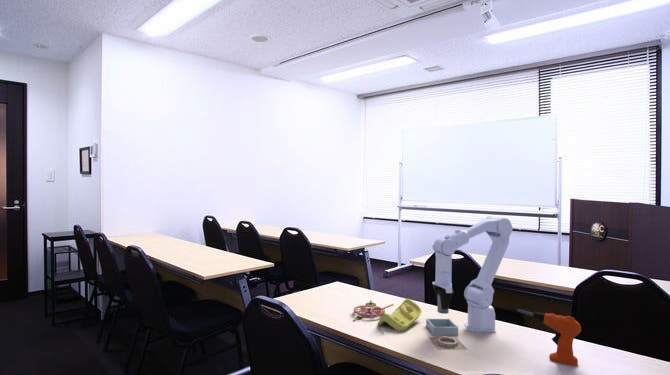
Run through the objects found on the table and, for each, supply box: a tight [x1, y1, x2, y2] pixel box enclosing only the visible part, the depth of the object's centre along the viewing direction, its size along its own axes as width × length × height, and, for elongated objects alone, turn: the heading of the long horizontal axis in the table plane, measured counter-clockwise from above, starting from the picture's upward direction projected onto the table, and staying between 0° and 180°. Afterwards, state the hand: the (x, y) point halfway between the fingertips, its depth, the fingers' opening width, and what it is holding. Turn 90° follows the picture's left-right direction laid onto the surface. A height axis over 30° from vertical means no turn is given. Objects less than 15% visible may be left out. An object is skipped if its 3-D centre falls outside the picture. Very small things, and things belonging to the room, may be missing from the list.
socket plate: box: [428, 335, 468, 351], centre depth 129 cm, size 10×10×1 cm
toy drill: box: [516, 308, 582, 367], centre depth 121 cm, size 5×19×15 cm, turn 54°
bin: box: [425, 318, 459, 336], centre depth 141 cm, size 9×9×3 cm
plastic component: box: [377, 298, 423, 332], centre depth 149 cm, size 20×7×10 cm
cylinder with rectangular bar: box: [436, 294, 450, 314], centre depth 140 cm, size 4×4×7 cm
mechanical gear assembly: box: [352, 299, 395, 322], centre depth 161 cm, size 30×4×15 cm
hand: (442, 307), depth 140 cm, fingers closed on cylinder with rectangular bar, 4 cm apart
